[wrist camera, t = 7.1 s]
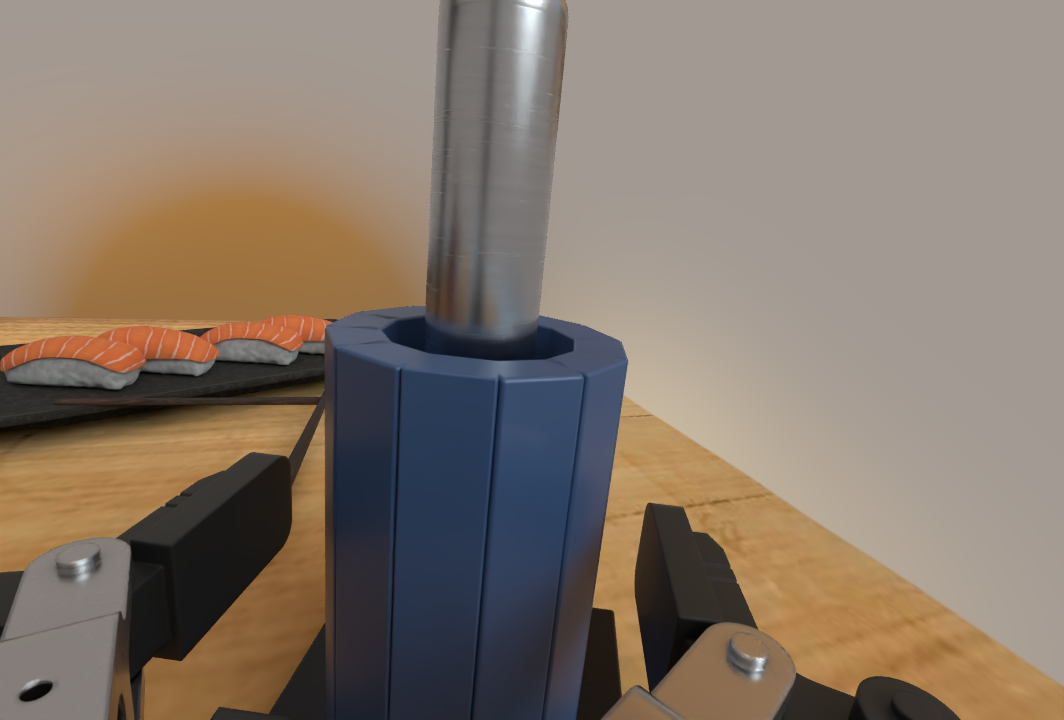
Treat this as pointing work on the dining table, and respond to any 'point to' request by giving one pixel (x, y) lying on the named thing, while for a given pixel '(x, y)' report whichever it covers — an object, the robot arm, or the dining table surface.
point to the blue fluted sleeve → (463, 519)
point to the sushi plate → (162, 372)
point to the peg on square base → (489, 240)
